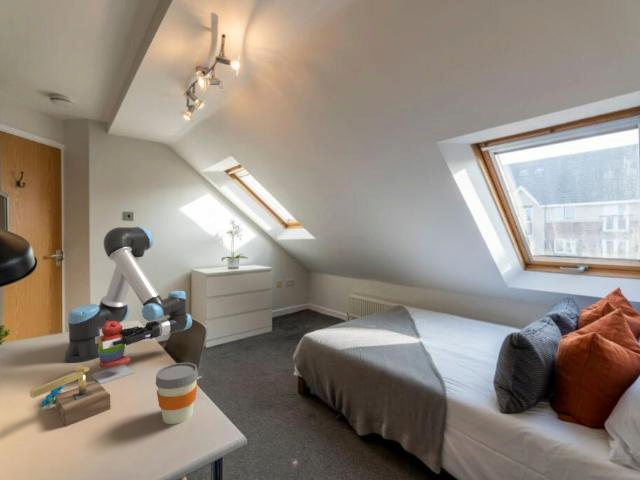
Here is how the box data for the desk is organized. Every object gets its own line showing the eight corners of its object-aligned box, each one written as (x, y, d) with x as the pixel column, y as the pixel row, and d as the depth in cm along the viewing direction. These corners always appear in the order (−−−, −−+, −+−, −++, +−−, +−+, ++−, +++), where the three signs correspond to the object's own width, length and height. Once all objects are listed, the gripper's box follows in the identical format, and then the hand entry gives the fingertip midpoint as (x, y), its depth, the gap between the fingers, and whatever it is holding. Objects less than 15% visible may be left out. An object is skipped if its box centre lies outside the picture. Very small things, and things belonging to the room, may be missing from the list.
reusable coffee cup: (205, 414, 103) (204, 370, 102) (166, 433, 93) (165, 384, 93) (188, 400, 111) (187, 359, 110) (150, 416, 102) (149, 371, 101)
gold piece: (80, 390, 107) (80, 364, 107) (90, 392, 105) (89, 367, 105) (27, 415, 93) (26, 386, 93) (37, 418, 91) (36, 389, 91)
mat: (91, 374, 130) (91, 374, 130) (123, 365, 139) (123, 364, 139) (100, 384, 122) (100, 383, 122) (133, 373, 131) (133, 372, 131)
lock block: (55, 409, 105) (54, 394, 105) (97, 394, 115) (97, 380, 114) (65, 426, 96) (65, 409, 96) (110, 409, 106) (110, 393, 105)
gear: (45, 393, 113) (68, 371, 115) (60, 400, 115) (82, 379, 117) (33, 413, 103) (59, 389, 105) (50, 421, 105) (75, 397, 107)
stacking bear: (132, 361, 131) (130, 320, 131) (105, 371, 123) (103, 326, 122) (120, 356, 137) (118, 316, 137) (93, 364, 129) (91, 322, 128)
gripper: (168, 342, 137) (108, 359, 120) (147, 331, 151) (91, 345, 133) (167, 325, 137) (107, 339, 119) (147, 316, 150) (90, 328, 133)
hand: (99, 342), depth 126 cm, fingers closed on stacking bear, 9 cm apart
